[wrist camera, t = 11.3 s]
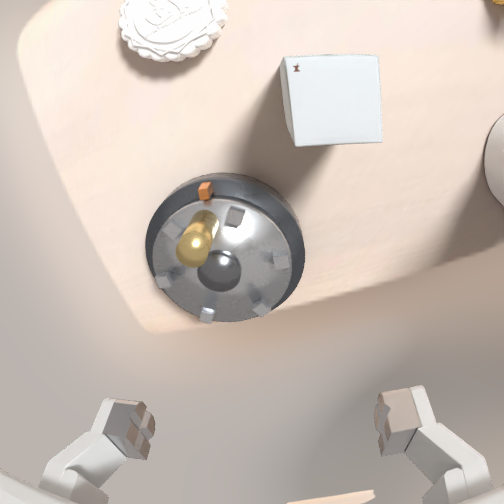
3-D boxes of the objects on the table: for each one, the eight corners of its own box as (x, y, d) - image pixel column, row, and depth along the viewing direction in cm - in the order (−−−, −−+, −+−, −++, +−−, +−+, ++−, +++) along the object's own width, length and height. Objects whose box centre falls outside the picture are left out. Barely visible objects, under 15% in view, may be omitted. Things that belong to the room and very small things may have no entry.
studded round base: (138, 212, 37) (107, 248, 30) (275, 181, 35) (276, 212, 27) (183, 318, 45) (168, 364, 37) (300, 302, 42) (305, 350, 35)
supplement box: (285, 127, 35) (291, 149, 24) (278, 64, 31) (281, 53, 20) (349, 124, 34) (384, 145, 23) (344, 61, 30) (379, 52, 19)
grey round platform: (296, 163, 37) (299, 176, 32) (307, 301, 46) (310, 327, 41) (136, 185, 39) (118, 201, 34) (174, 310, 49) (165, 334, 44)
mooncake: (204, -43, 25) (198, -54, 21) (245, 35, 30) (242, 30, 27) (115, 4, 27) (101, -1, 24) (150, 80, 33) (139, 80, 30)
